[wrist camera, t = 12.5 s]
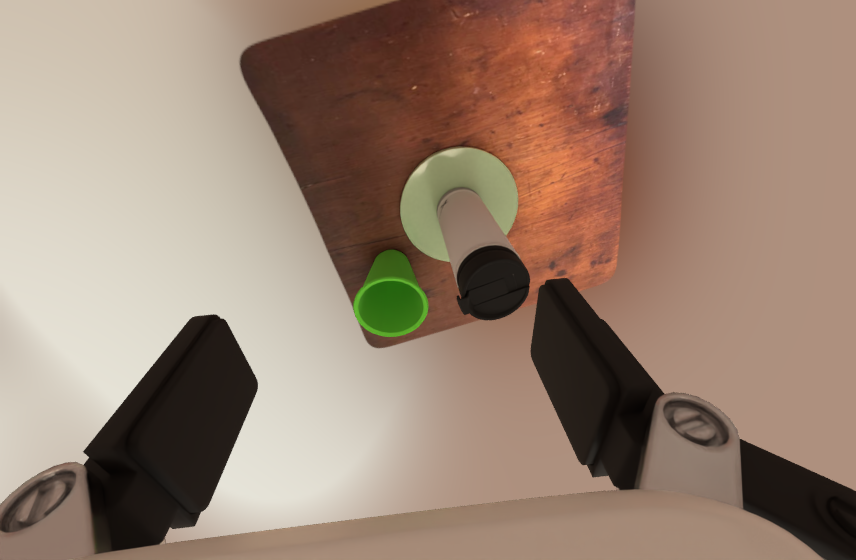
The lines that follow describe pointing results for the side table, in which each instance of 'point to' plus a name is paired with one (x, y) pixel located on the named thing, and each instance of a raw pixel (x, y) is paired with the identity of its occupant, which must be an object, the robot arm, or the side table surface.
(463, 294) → the travel mug
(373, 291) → the cup
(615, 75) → the side table surface
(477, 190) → the trivet
